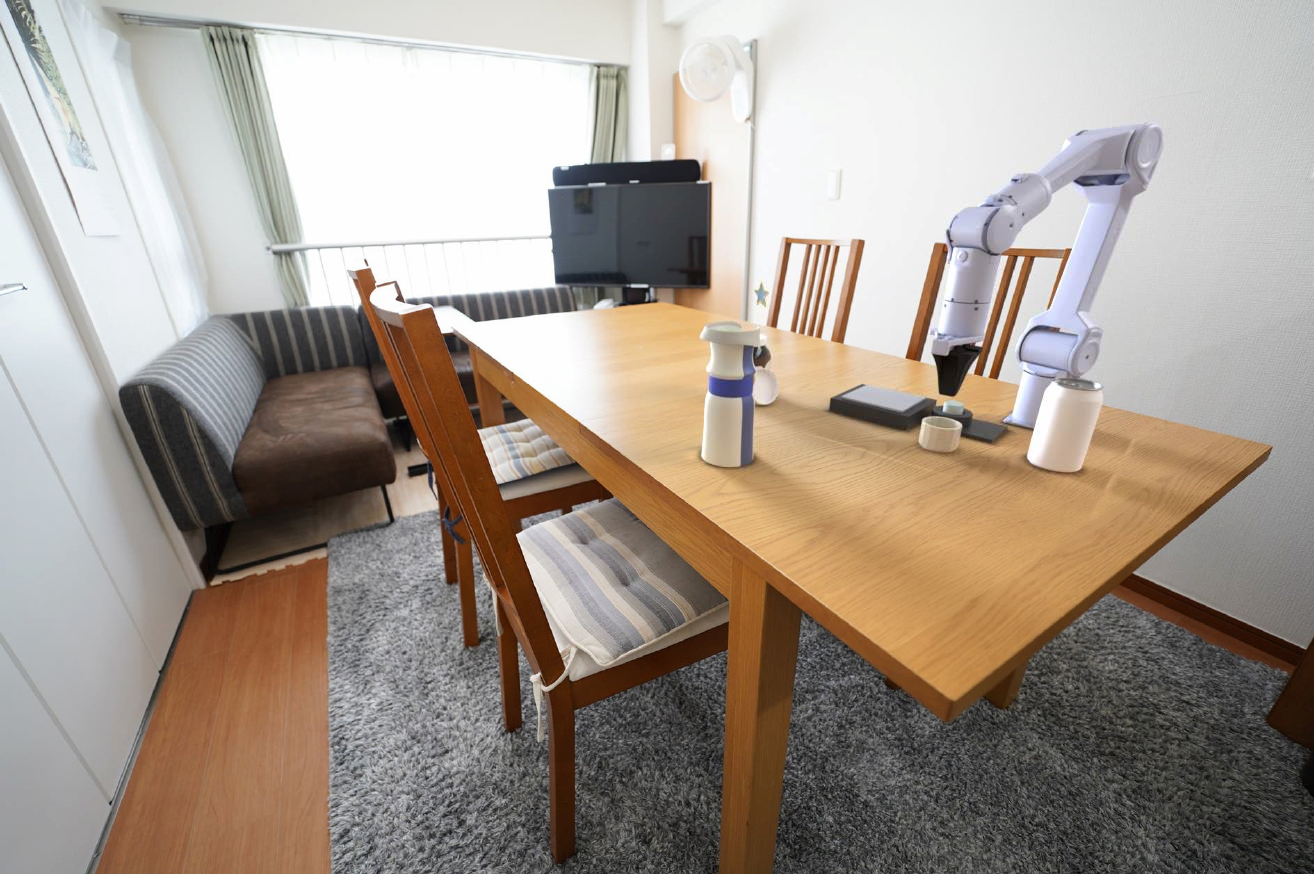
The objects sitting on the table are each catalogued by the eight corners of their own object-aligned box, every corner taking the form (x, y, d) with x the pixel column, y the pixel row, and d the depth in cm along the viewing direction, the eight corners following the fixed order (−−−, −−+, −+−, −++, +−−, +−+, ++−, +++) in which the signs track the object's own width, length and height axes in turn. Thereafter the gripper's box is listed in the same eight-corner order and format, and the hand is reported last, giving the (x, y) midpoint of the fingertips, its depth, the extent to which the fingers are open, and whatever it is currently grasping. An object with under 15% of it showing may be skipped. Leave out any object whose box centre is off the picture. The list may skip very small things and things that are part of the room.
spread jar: (740, 384, 114) (742, 329, 110) (791, 394, 108) (796, 336, 103) (711, 400, 105) (712, 340, 101) (764, 411, 99) (769, 348, 94)
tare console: (1006, 430, 89) (1010, 416, 88) (991, 444, 84) (994, 429, 83) (940, 415, 96) (943, 401, 95) (922, 426, 91) (925, 412, 90)
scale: (934, 413, 97) (937, 397, 96) (906, 431, 89) (909, 414, 88) (860, 396, 106) (862, 381, 105) (828, 411, 98) (830, 395, 97)
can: (1064, 478, 73) (1090, 393, 69) (1016, 460, 78) (1037, 380, 74) (1090, 468, 76) (1117, 386, 71) (1042, 451, 81) (1064, 374, 77)
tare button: (965, 412, 91) (967, 403, 90) (958, 417, 89) (960, 407, 88) (946, 408, 93) (948, 399, 92) (939, 413, 91) (941, 403, 90)
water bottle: (721, 440, 87) (728, 277, 77) (766, 455, 81) (779, 282, 71) (687, 455, 81) (689, 283, 72) (732, 472, 76) (741, 288, 66)
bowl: (962, 446, 83) (967, 422, 82) (949, 457, 80) (954, 432, 78) (925, 437, 87) (930, 413, 85) (911, 447, 83) (916, 422, 82)
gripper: (955, 292, 82) (938, 379, 87) (915, 303, 73) (899, 399, 78) (1007, 297, 77) (986, 388, 83) (972, 309, 68) (951, 411, 73)
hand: (947, 394), depth 80 cm, fingers closed
